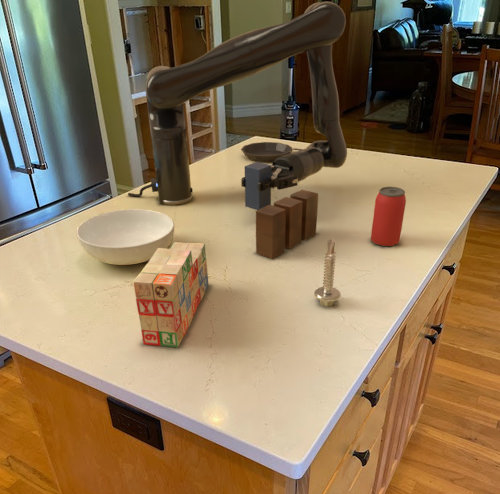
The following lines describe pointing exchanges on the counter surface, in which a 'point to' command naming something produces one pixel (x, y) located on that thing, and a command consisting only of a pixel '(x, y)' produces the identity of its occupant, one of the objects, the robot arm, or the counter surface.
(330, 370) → the counter surface
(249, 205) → the block
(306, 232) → the line block
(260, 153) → the frying pan
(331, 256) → the screw
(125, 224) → the serving bowl
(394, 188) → the beer can
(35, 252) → the counter surface
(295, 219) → the line block
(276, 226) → the line block
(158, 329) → the stack of blocks
